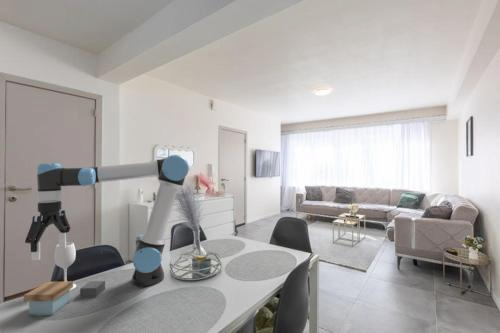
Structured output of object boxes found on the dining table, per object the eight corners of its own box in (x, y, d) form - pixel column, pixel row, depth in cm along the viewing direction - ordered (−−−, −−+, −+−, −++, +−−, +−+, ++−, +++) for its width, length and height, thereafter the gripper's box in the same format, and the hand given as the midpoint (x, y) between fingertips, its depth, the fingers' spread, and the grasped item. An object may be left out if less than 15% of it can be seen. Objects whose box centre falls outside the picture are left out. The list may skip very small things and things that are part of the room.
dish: (69, 302, 105) (69, 288, 105) (52, 315, 96) (52, 299, 96) (47, 302, 105) (47, 288, 105) (29, 315, 96) (29, 300, 96)
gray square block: (105, 289, 116) (105, 280, 116) (96, 297, 109) (96, 288, 109) (90, 289, 116) (90, 281, 116) (80, 297, 109) (80, 288, 109)
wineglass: (49, 294, 112) (49, 247, 112) (58, 285, 120) (58, 242, 120) (71, 291, 114) (71, 246, 114) (79, 283, 122) (79, 240, 123)
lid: (72, 287, 106) (72, 281, 106) (53, 301, 95) (53, 294, 95) (46, 287, 106) (46, 281, 106) (23, 301, 95) (23, 295, 95)
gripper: (62, 197, 113) (63, 244, 113) (11, 206, 88) (11, 265, 88) (79, 197, 113) (79, 243, 113) (32, 205, 88) (33, 265, 88)
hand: (50, 253), depth 100 cm, fingers open, 13 cm apart
